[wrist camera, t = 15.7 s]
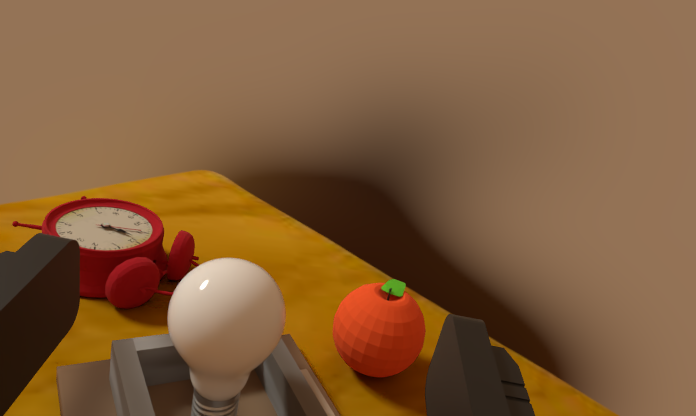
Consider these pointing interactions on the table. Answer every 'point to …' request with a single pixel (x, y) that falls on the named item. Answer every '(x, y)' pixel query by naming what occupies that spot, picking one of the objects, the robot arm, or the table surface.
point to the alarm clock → (119, 248)
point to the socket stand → (185, 383)
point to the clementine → (379, 329)
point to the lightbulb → (224, 329)
